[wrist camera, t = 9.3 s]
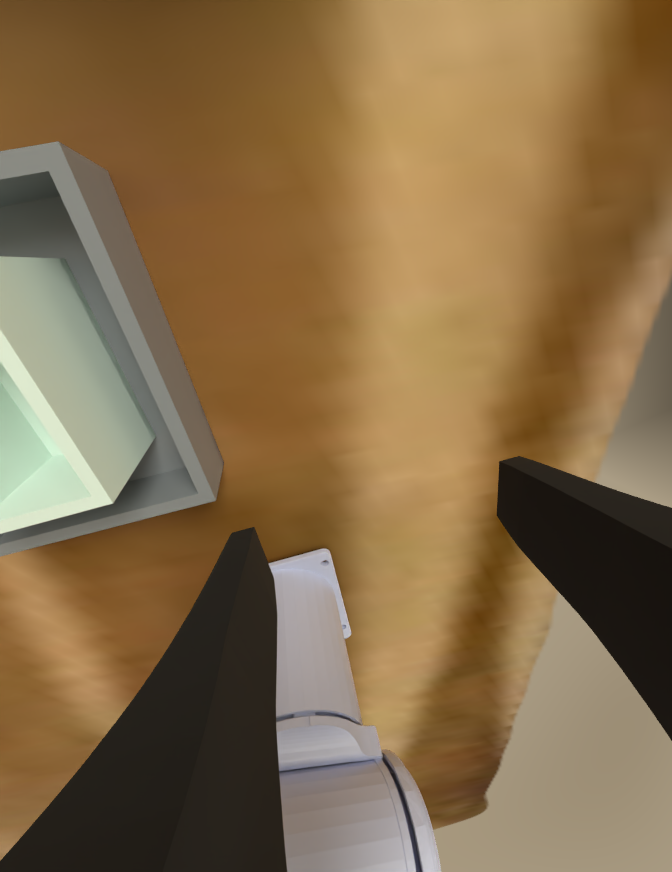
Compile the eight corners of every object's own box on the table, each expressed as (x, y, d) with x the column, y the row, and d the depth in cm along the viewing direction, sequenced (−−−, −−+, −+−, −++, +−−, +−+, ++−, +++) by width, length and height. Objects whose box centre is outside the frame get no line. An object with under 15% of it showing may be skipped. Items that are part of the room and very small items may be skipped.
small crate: (156, 436, 17) (113, 503, 12) (53, 462, 17) (-33, 542, 12) (65, 258, 13) (-48, 254, 9) (-70, 288, 13) (-267, 301, 8)
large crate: (223, 462, 19) (216, 500, 16) (33, 510, 18) (-14, 560, 15) (107, 170, 13) (58, 141, 10) (-188, 223, 12) (-342, 209, 9)
